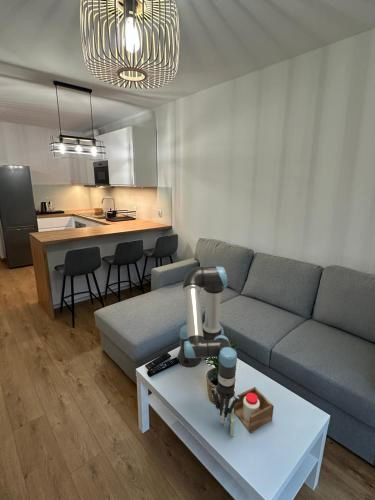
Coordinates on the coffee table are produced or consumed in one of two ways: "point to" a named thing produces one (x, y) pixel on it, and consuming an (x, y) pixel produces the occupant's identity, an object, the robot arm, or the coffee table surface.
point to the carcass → (257, 418)
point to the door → (231, 420)
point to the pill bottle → (250, 405)
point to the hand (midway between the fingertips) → (223, 420)
